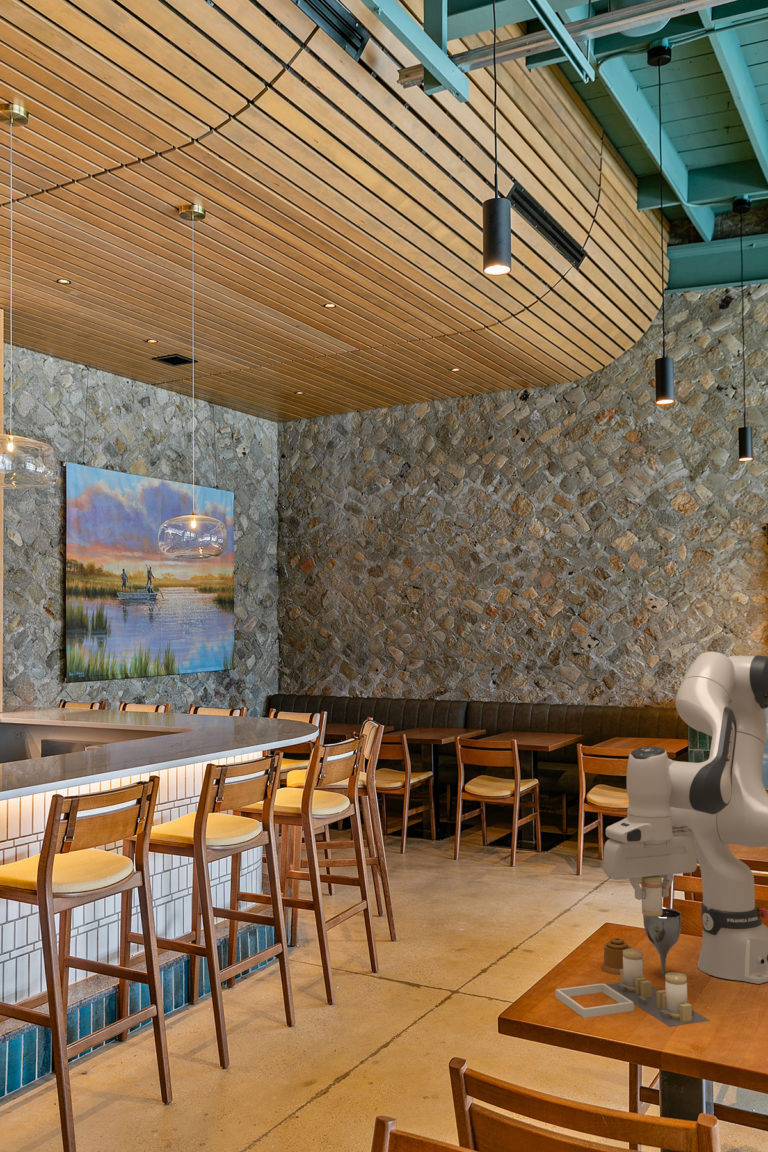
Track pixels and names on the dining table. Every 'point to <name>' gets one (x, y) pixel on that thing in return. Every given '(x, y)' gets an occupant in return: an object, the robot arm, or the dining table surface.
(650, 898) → the marked fuse
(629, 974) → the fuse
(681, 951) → the dining table surface
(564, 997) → the tray
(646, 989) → the fuse block
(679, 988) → the fuse
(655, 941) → the wine glass
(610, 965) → the ornamental finial
